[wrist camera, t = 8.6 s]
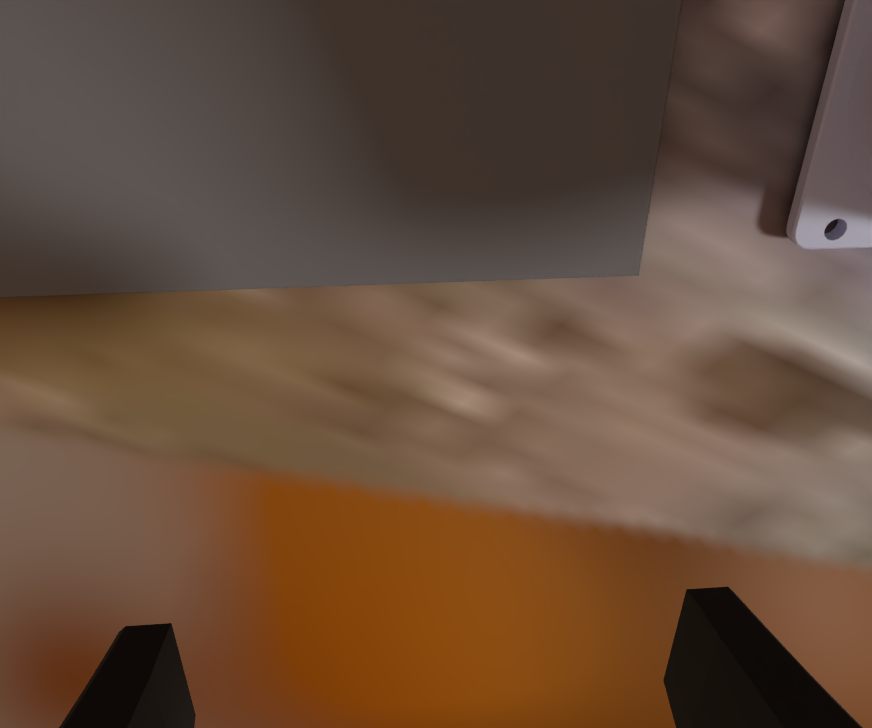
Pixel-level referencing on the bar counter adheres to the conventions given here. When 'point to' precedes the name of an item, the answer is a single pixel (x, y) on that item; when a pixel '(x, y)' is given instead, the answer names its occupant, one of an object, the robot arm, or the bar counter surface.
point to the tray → (325, 141)
